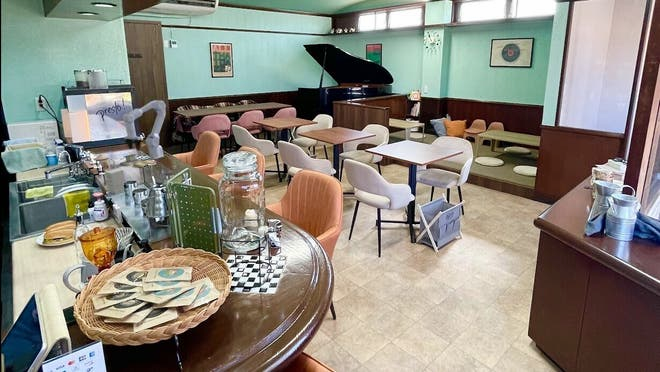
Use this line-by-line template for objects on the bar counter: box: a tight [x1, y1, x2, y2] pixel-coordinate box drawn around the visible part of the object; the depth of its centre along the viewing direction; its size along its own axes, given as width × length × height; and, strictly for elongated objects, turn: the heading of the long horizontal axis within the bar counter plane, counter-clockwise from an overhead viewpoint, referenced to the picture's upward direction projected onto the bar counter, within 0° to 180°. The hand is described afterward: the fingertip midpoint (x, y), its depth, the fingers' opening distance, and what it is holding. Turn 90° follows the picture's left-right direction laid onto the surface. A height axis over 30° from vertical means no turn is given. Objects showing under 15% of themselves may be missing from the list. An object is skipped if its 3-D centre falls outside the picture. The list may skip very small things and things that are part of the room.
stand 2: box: [132, 159, 158, 168], centre depth 290 cm, size 12×10×2 cm
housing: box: [123, 153, 138, 163], centre depth 295 cm, size 7×4×5 cm, turn 154°
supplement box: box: [104, 168, 127, 195], centre depth 230 cm, size 7×7×13 cm
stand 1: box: [119, 158, 144, 167], centre depth 296 cm, size 12×10×2 cm
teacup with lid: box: [93, 153, 116, 170], centre depth 279 cm, size 12×9×12 cm
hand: (134, 149), depth 296 cm, fingers open, 7 cm apart
